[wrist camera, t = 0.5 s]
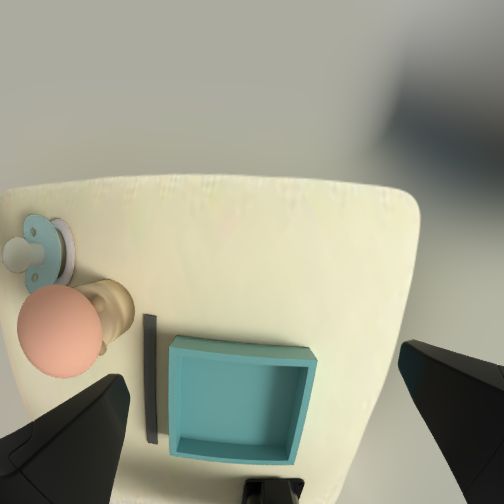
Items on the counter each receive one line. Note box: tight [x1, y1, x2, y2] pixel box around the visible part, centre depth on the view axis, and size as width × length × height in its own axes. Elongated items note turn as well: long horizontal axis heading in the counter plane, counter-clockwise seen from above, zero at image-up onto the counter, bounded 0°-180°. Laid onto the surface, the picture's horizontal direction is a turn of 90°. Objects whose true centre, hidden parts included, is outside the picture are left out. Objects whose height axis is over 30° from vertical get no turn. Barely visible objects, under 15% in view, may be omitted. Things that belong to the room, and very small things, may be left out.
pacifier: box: [2, 214, 75, 294], centre depth 20 cm, size 7×6×6 cm
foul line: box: [144, 314, 158, 444], centre depth 23 cm, size 14×1×1 cm, turn 174°
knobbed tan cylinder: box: [73, 280, 135, 356], centre depth 20 cm, size 5×5×6 cm
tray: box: [168, 335, 317, 465], centre depth 22 cm, size 11×11×3 cm
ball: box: [17, 285, 102, 378], centre depth 15 cm, size 6×6×6 cm
